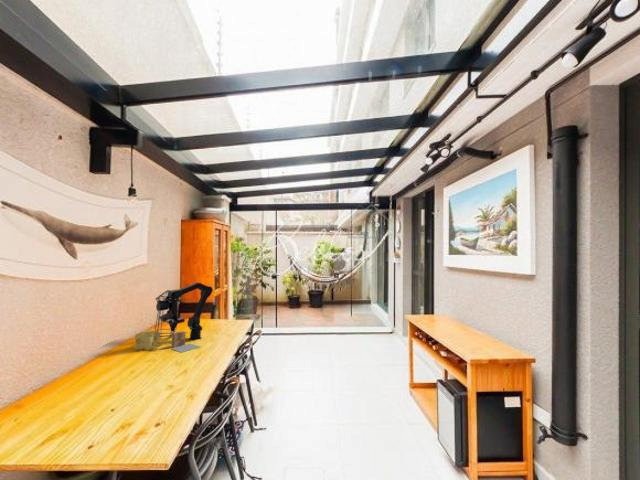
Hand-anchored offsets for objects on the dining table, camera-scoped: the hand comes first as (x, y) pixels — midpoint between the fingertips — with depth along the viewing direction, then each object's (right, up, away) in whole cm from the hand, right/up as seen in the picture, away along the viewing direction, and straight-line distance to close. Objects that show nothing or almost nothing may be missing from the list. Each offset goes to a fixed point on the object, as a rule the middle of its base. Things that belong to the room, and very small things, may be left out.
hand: (172, 331), depth 211 cm
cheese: (-13, -8, -9) cm, 18 cm away
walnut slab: (+6, -8, -4) cm, 11 cm away
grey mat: (+13, -8, -9) cm, 18 cm away
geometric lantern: (-12, -9, +15) cm, 21 cm away
